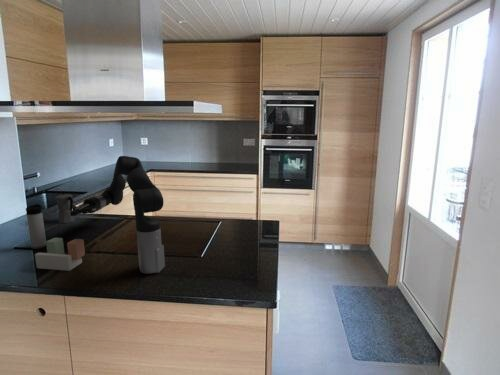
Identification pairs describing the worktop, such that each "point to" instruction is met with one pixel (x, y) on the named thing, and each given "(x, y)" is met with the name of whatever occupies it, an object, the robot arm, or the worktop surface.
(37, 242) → the travel mug
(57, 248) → the green rectangular block
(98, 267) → the worktop surface
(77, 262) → the console
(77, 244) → the terracotta rectangular block
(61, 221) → the coffeepot
